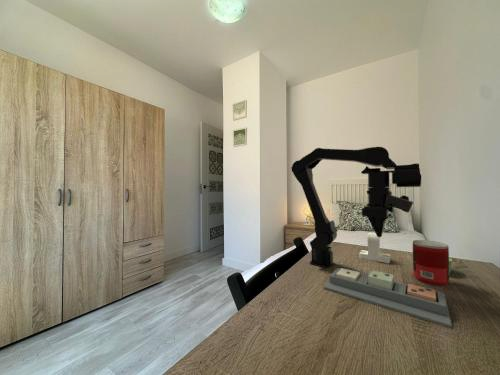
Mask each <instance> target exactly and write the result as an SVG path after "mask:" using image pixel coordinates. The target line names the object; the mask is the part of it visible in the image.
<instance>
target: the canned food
mask: <svg viewBox="0 0 500 375" xmlns="http://www.w3.org/2000/svg"><path fill="white" fill-rule="evenodd" d="M449 249H450V248H449V245H448V244H446V243H444V242H440V241H436V240H429V239H416V240H412V272H413V277H414V278H415V280H417V281H419V282H422V283H424V284H428V285H432V286H433V285H434V286H438V287H439V286H442V287H444V286H447V285H449V283H450V273H449V258H450V256H449V255H450V252H449Z"/></svg>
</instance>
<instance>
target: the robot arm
mask: <svg viewBox="0 0 500 375" xmlns="http://www.w3.org/2000/svg"><path fill="white" fill-rule="evenodd" d="M323 160H325V161H326V160H327V161H340V162H341V161H342V162H352V163H353V162H355V163H360V164H362V165H366V166H365V168H364V169H363V170H362V171H361V174H362V175H367V180H368V181H367V185H368V186H367V190H366V195H368V196H367V198H368V201H367V202H368V203H366V205H365V206H364V207H363V208H361V216H362V217H367V219H368V221H369V223H370V225H371V227H372V228H373V230H374V233H376V235H377V237H380V238H382V237H383V234H384V233H383V232H384V229H385V223H386V221H387V220H388V219H389V218H390V217H392V214H391V213H394V211H395V209H398V210H401V211H403V212H405V213H410V210H411V208H412V206H413V204H414V202H413V201H412V200H410V197H409V196H408V195H404V194H403V195H401V196H400V197H399V196H395V195H392V193H393V192H392V191H391V189H390V174H391V184H392V185H396V188H421V186H422V174H421V169H420V164H419V163H410V164H401V165H400V164H398V165H397V164H396V162H395V161H393V160H392V159H391V157H390V154H389V151H388V150H387V149H386V148H385V147H382V146H372V147H366V148H360V149H359V148H358V149H345V148H343V149H339V148H321V147H316V148H314V150H312V151H311V152H310V153H308V154H306V155H305V156H303V157H301V158H300V159H299V160H295V162H293V163H292V165H291V167H290V168H291V172H292V175H293V176H294V177H295V179H296V180H297V181H298V183H299V184H300V186H301V188H302V190H303V193H304V195H305V198H306V200H307V203H308V207H309V209H310V211H311V215H312V218H313V220H314V232H315V237H314V238H313V239H312V240H310V241H309V245H310V247H311V261H309V264H310V265H314V266H318V267H322V268H329V267H330V266H332V265H333V264H334V252H333V250H332V247H331V244H332V243H333V242H334V241H335V240H336V239H337V237H338V231H339V230H338V228H337V227H336V224H335V221H334V220H331V221H330V220H329V218H328V217H327V215H326V213H325V210H324V208H323V204H322V202H321V199H320V197H319V195H318V191H317V189H316V187H315V184H314V175H313V169H315V168H316V167H317V166H318V165H319V164H320V162H321V161H323ZM367 165H368V166H367ZM369 166H371V167H369ZM372 167H373V168H372ZM381 167H382V168H384V169H386V170H381Z"/></svg>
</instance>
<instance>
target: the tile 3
mask: <svg viewBox="0 0 500 375" xmlns="http://www.w3.org/2000/svg"><path fill="white" fill-rule="evenodd" d="M407 284H408V289H407V295H410V296H414V297H418V298H422V299H425V300H429V301H433V302H436V293H435V291H436V289H433V288H429V287H425V286H419V285H416V284H412V283H407Z"/></svg>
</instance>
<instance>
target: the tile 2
mask: <svg viewBox="0 0 500 375" xmlns="http://www.w3.org/2000/svg"><path fill="white" fill-rule="evenodd" d="M368 275H369V276H368V285H372V286H375V287H379V288H383V289H387V290H391V291H392V288H393V285H394V281H395V279H394V278H395V275H394V274H390V273H387V272H386V273H385V272H381V271H378V270H377V271H376V270H371V271H370V272H369V274H368Z"/></svg>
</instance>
